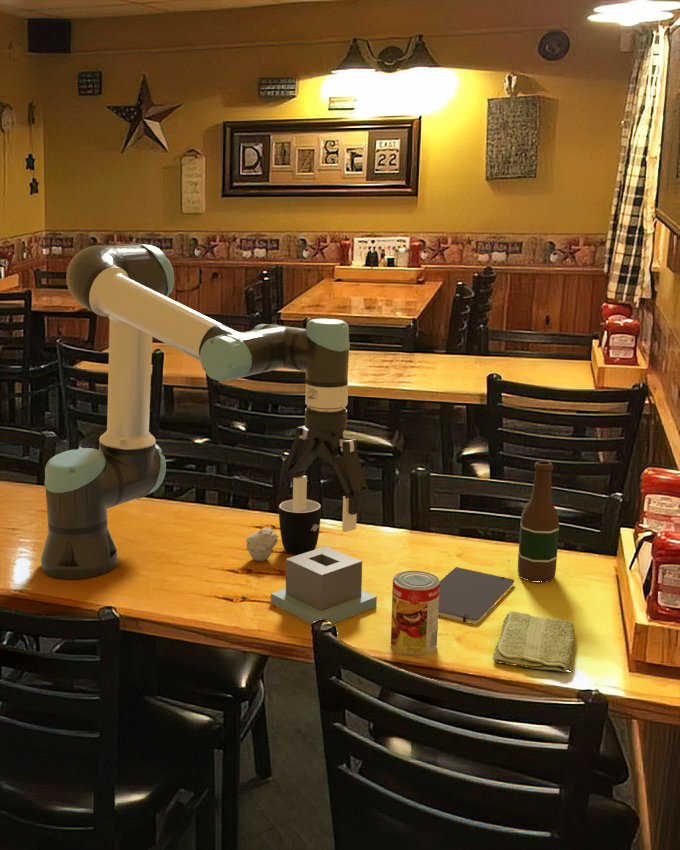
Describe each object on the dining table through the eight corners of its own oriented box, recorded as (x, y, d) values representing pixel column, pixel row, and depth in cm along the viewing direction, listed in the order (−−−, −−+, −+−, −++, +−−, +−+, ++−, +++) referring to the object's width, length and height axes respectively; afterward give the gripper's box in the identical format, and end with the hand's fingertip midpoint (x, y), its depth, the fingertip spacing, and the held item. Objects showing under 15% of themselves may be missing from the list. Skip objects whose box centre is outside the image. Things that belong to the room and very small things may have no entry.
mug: (314, 559, 196) (314, 514, 193) (273, 555, 198) (273, 510, 195) (328, 540, 207) (328, 496, 205) (289, 536, 209) (289, 493, 207)
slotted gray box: (285, 593, 174) (285, 558, 172) (325, 579, 180) (325, 546, 179) (321, 611, 167) (321, 575, 165) (361, 596, 173) (362, 561, 172)
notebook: (455, 573, 191) (412, 612, 173) (456, 566, 190) (412, 604, 172) (515, 586, 185) (476, 628, 167) (515, 579, 184) (477, 620, 166)
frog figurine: (274, 567, 191) (274, 535, 190) (241, 564, 193) (241, 532, 191) (281, 556, 197) (281, 525, 196) (249, 553, 198) (249, 522, 197)
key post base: (270, 603, 174) (270, 568, 173) (326, 583, 184) (326, 550, 182) (320, 628, 164) (321, 591, 163) (376, 606, 174) (377, 571, 172)
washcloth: (490, 667, 153) (491, 649, 152) (504, 622, 169) (505, 606, 168) (572, 680, 149) (573, 662, 148) (578, 633, 165) (579, 616, 165)
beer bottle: (559, 572, 191) (567, 460, 185) (550, 586, 184) (559, 470, 178) (521, 565, 194) (529, 455, 188) (512, 579, 187) (519, 464, 181)
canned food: (396, 631, 164) (398, 568, 161) (440, 638, 162) (443, 573, 159) (385, 651, 156) (387, 585, 154) (431, 658, 154) (434, 591, 151)
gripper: (265, 397, 171) (265, 506, 176) (359, 423, 154) (356, 544, 159) (296, 392, 176) (295, 498, 181) (391, 417, 159) (386, 534, 164)
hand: (323, 520), depth 170 cm, fingers open, 13 cm apart
